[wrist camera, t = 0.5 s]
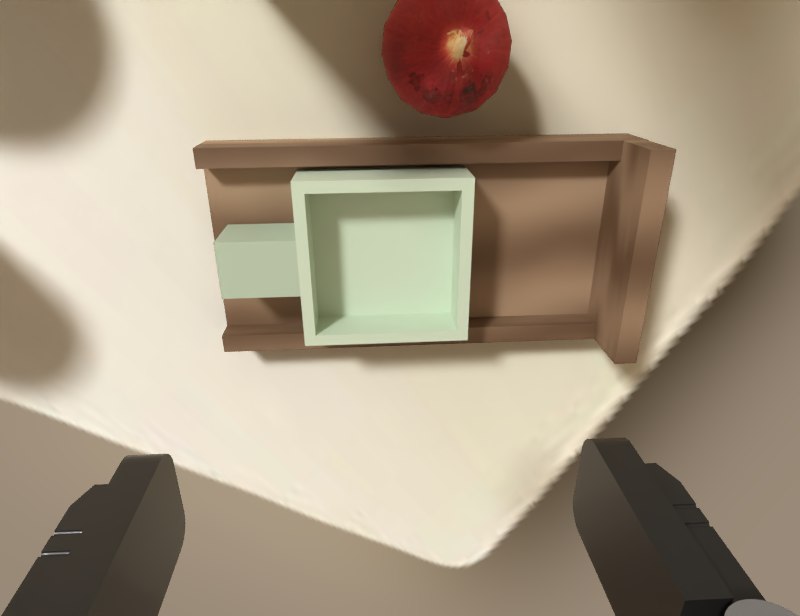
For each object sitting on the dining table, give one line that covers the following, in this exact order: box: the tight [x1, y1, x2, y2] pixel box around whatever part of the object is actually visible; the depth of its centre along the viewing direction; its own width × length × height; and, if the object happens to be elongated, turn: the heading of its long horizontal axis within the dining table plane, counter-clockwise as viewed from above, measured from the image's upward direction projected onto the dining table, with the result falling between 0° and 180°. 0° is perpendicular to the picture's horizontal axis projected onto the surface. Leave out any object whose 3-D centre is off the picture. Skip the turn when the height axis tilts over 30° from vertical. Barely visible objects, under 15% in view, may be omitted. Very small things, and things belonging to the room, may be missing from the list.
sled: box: [214, 166, 475, 346], centre depth 30 cm, size 9×13×3 cm
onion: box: [382, 0, 512, 118], centre depth 25 cm, size 6×6×8 cm
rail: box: [193, 134, 676, 364], centre depth 31 cm, size 11×23×6 cm, turn 91°
